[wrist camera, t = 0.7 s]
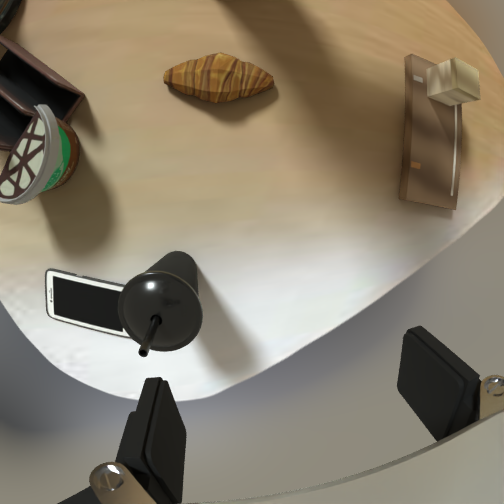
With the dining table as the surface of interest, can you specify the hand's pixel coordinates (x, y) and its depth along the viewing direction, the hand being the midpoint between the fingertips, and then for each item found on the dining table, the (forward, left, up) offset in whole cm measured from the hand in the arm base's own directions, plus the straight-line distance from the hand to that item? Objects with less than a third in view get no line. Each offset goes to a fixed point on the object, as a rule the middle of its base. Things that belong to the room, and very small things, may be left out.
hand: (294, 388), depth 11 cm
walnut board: (-18, +26, -29) cm, 43 cm away
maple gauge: (-25, +26, -27) cm, 45 cm away
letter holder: (-19, -33, -29) cm, 48 cm away
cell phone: (+11, -21, -29) cm, 38 cm away
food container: (-8, -24, -29) cm, 39 cm away
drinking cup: (+5, -8, -29) cm, 30 cm away
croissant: (-19, -5, -29) cm, 36 cm away
